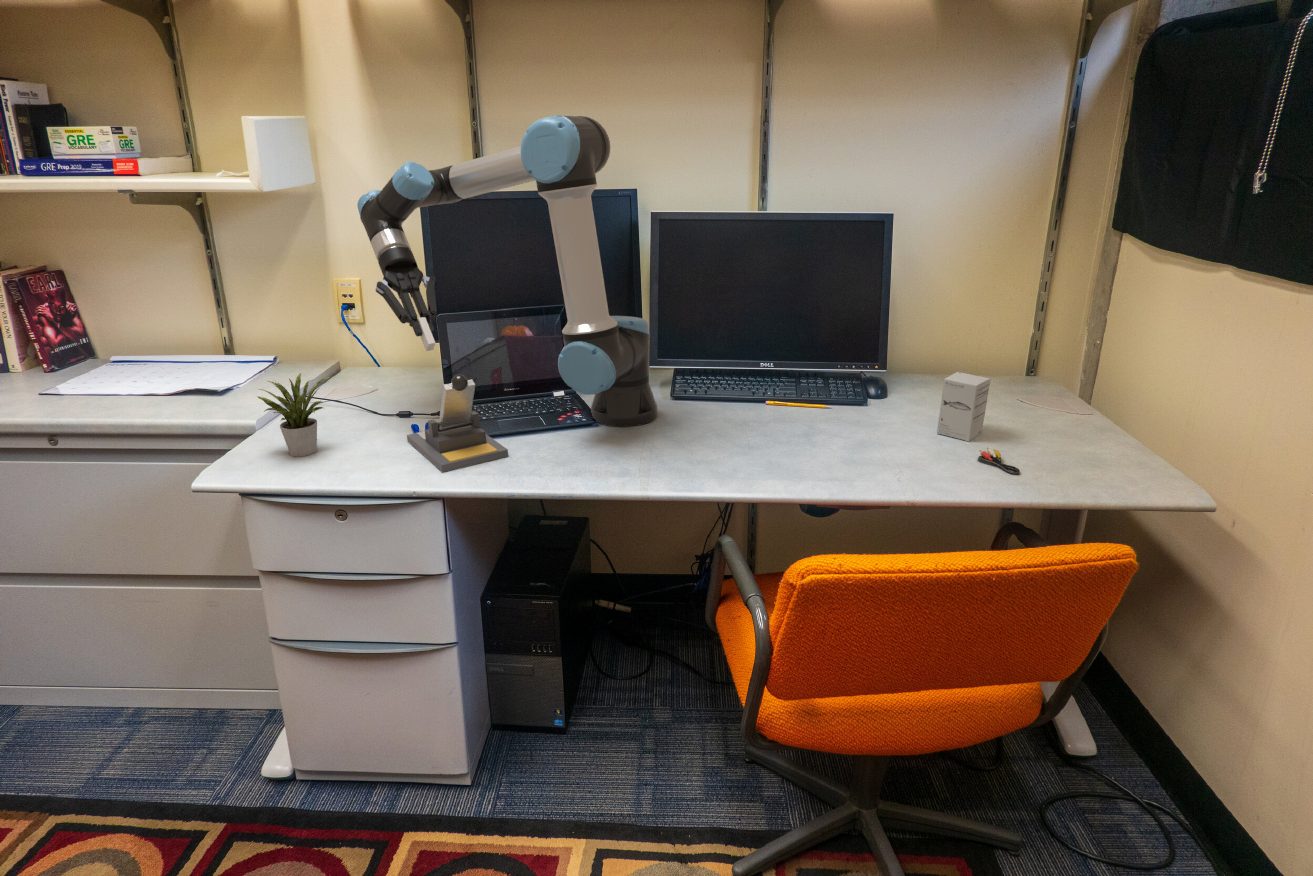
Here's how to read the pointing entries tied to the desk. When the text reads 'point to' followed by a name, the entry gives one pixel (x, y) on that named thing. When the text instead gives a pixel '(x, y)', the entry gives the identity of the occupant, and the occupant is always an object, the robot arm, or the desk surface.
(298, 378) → the house plant
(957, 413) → the supplement box
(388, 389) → the desk surface
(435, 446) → the switch unit
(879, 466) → the desk surface
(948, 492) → the desk surface
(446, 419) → the toggle lever
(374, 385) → the desk surface
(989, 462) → the composite cable
